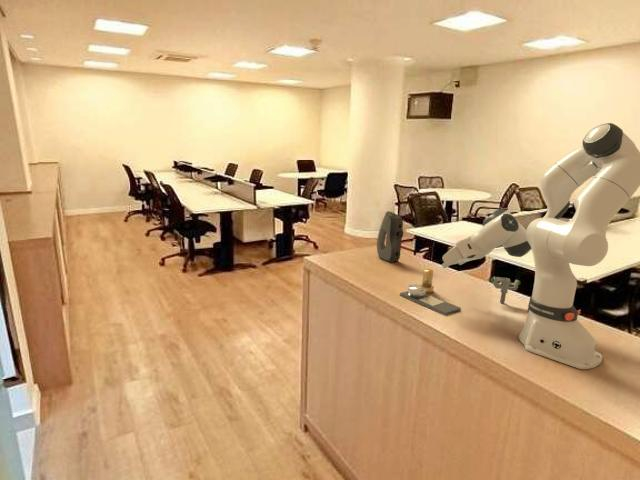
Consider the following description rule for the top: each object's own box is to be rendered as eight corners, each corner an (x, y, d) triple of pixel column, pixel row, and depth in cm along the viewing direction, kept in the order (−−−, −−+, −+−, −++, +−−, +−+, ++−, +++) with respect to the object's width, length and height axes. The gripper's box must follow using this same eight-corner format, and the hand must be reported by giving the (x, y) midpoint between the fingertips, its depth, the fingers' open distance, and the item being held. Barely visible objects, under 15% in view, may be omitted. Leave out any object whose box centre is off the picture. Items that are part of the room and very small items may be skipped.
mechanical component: (516, 306, 159) (521, 281, 156) (489, 302, 161) (492, 278, 158) (515, 303, 162) (519, 279, 159) (487, 300, 164) (491, 276, 161)
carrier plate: (460, 310, 152) (461, 300, 151) (445, 315, 147) (446, 305, 146) (415, 291, 169) (416, 282, 169) (399, 295, 164) (400, 285, 163)
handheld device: (392, 264, 206) (397, 214, 200) (371, 256, 218) (375, 209, 212) (401, 262, 209) (405, 214, 203) (380, 254, 221) (383, 209, 215)
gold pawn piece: (436, 292, 170) (438, 271, 168) (427, 294, 167) (429, 273, 165) (425, 287, 174) (427, 267, 172) (416, 290, 171) (418, 269, 169)
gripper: (489, 236, 156) (464, 254, 167) (455, 241, 145) (430, 261, 155) (498, 250, 154) (472, 267, 164) (464, 257, 143) (438, 275, 153)
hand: (451, 264), depth 159 cm, fingers open, 8 cm apart
